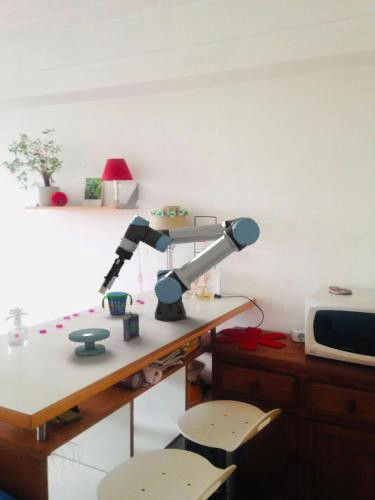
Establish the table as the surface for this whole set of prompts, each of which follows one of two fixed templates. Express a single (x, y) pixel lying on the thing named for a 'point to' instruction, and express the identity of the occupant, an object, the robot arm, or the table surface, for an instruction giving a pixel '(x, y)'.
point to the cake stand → (89, 340)
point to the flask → (130, 326)
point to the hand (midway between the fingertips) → (104, 290)
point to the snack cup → (117, 302)
